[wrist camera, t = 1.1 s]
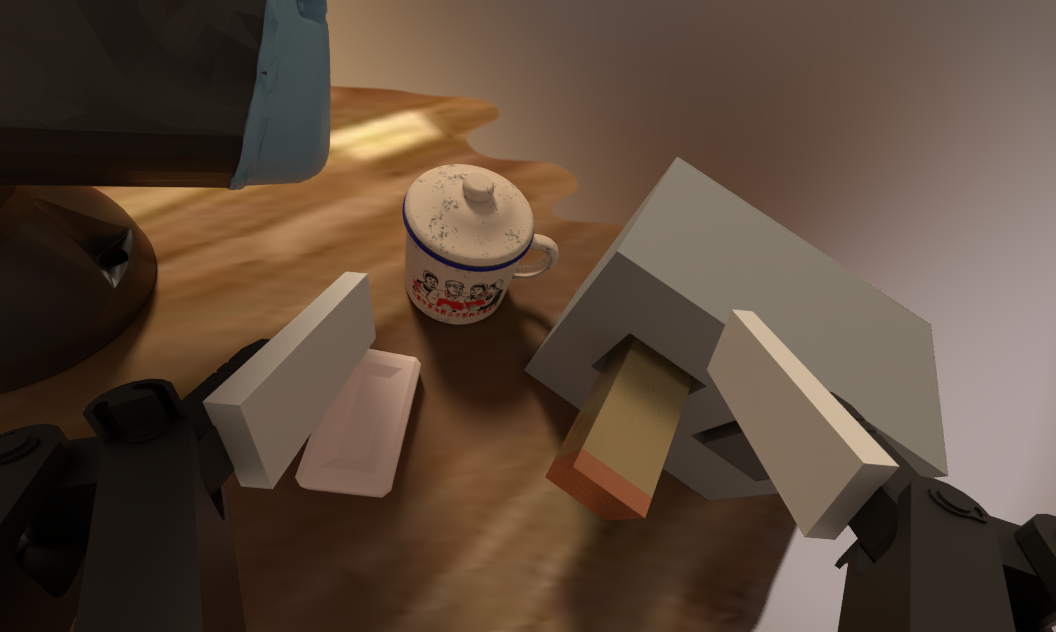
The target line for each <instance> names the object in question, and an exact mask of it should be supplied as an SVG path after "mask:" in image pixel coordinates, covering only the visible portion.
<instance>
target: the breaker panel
mask: <svg viewBox="0 0 1056 632" xmlns="http://www.w3.org/2000/svg"><path fill="white" fill-rule="evenodd" d="M732 309H733V310H744V311H753V312H754V313H755V314H756V315H757V316H758V317H759V319H760V320H761V321H762V322H763V323H764V324H765V325H766V326H767V327H768V328H769V329H770V330H771V331H772V332H773V333H774V334H775V335H776V337H777V338H778V339H779V340H780V341H781V342H782V343H783V344H784V345H785V346H786V347H787V348H788V349H789V350H790V351H791V352H792V353H793V354H794V356H795V357H796V358H797V359H798V360H799V361H800V362H801V363H802V364H803V365H804V366H805V367H806V368H807V369H808V370H809V371H810V372H811V374H812V375H813V376H814V377H815V378H816V379H817V380H818V381H819V382H820V383H821V384H822V385H823V386H824V387H825V388H826V389H827V390H828V391H829V392H833V393H835V394H836V395H838V396H839V397H840V398H842V399H843V400H845V401H846V402H848V403H849V404H851V405H852V406H853V407H854V408H855V409H856V410H857V411H858V412H859V413H860V414H861V415H862V416H863V417H864V418H865V422H869V424H870V425H871V426H872V427H873V428H874V429H875V430H876V431H877V434H880V435H881V436H882V437H883V438H884V439H885V440H886V441H887V442H888V443H889V444H890V445H891V446H892V447H893V448H894V449H895V450H896V451H897V452H898V453H899V454H900V455H901V456H902V457H903V458H904V459H905V460H906V461H907V462H908V463H909V464H910V465H911V466H912V467H913V468H914V470H915V471H916V472H917V473H918V474H919V475H920V476H921V477H922V476H923V477H928V478H934V477H943V476H948V470H947V460H946V451H945V443H944V434H943V425H942V416H941V408H940V399H939V390H938V381H937V373H936V365H935V355H934V346H933V338H932V329H931V324H930V323H928V322H927V321H925V320H924V319H922V318H920V317H919V316H918V315H916V314H915V313H913V312H911V311H910V310H909V309H907V308H905V307H904V306H902V305H901V304H899V303H898V302H896V301H895V300H893V299H892V298H890V297H889V296H887V295H886V294H884V293H883V292H881V291H880V290H878V289H876V288H875V287H874V286H872V285H871V284H869V283H868V282H866V281H865V280H863V279H861V278H860V277H858V276H857V275H856V274H854V273H853V272H851V271H849V270H848V269H846V268H845V267H843V266H842V265H840V264H839V263H837V262H836V261H834V260H833V259H831V258H830V257H828V256H827V255H825V254H824V253H822V252H821V251H819V250H818V249H816V248H815V247H813V246H812V245H810V244H809V243H807V242H805V241H804V240H803V239H801V238H799V237H798V236H797V235H795V234H793V233H792V232H790V231H789V230H788V229H786V228H784V227H783V226H781V225H780V224H778V223H777V222H775V221H774V220H772V219H771V218H769V217H768V216H766V215H765V214H763V213H762V212H760V211H759V210H757V209H756V208H754V207H753V206H751V205H750V204H748V203H747V202H745V201H743V200H742V199H741V198H739V197H738V196H736V195H735V194H733V193H731V192H730V191H728V190H727V189H725V188H724V187H722V186H721V185H719V184H718V183H716V182H715V181H713V180H712V179H710V178H709V177H707V176H706V175H704V174H703V173H701V172H700V171H698V170H697V169H695V168H694V167H692V166H691V165H689V164H688V163H686V162H684V161H683V160H682V159H680V158H679V157H677V158H676V159H675V161H674V162H673V163H672V165H671V166H670V167H669V169H668V170H667V171H666V173H665V174H664V175H663V177H662V178H661V179H660V181H659V182H658V184H657V185H656V186H655V187H654V189H653V190H652V192H651V193H650V194H649V195H648V197H647V198H646V199H645V201H644V202H643V203H642V205H641V206H640V208H639V209H638V210H637V212H636V213H635V215H634V216H633V217H632V218H631V220H630V221H629V222H628V224H627V225H626V226H625V228H624V229H623V230H622V232H621V233H620V234H619V236H618V237H617V238H616V240H615V241H614V242H613V244H612V245H611V246H610V248H609V249H608V250H607V252H606V253H605V255H604V256H603V257H602V259H601V260H600V261H599V263H598V264H597V265H596V267H595V268H594V269H593V271H592V272H591V273H590V275H589V276H588V277H587V279H586V280H585V281H584V283H583V284H582V285H581V287H580V288H579V289H578V291H577V292H576V294H575V295H574V297H573V298H572V300H571V301H570V303H569V304H568V305H567V307H566V308H565V310H564V311H563V313H562V314H561V316H560V317H559V319H558V320H557V322H556V323H555V325H554V326H553V328H552V329H551V331H550V332H549V334H548V335H547V337H546V338H545V340H544V341H543V343H542V344H541V346H540V347H539V349H538V350H537V352H536V353H535V355H534V356H533V358H532V359H531V361H530V362H529V364H528V365H527V367H526V368H525V370H524V371H525V372H527V373H528V374H529V375H531V376H532V377H534V378H535V379H537V380H538V381H539V382H541V383H542V384H544V385H545V386H546V387H548V388H549V389H551V390H552V391H554V392H555V393H556V394H558V395H559V396H561V397H562V398H563V399H565V400H566V401H568V402H569V403H571V404H572V405H573V406H575V407H576V408H578V409H579V410H581V408H582V406H583V404H584V402H585V400H586V398H587V396H588V394H589V392H590V391H591V389H592V387H593V385H594V383H595V381H596V379H597V377H598V375H599V373H600V372H601V370H602V368H603V366H604V364H605V362H606V360H607V358H608V356H609V354H610V352H611V351H612V349H613V347H614V346H615V345H616V344H617V343H619V342H620V341H621V340H622V339H623V338H624V337H626V336H627V335H628V334H629V333H631V334H632V335H634V336H635V337H637V338H638V339H639V340H641V341H642V342H644V343H645V344H647V345H648V346H650V347H651V348H653V349H654V350H655V351H657V352H658V353H660V354H661V355H663V356H664V357H666V358H667V359H668V360H670V361H671V362H673V363H674V364H676V365H677V366H679V367H680V368H682V369H683V370H684V371H686V372H687V373H689V374H690V375H692V376H693V377H694V378H693V380H692V383H691V386H690V389H689V392H688V395H687V398H686V401H685V404H684V407H683V410H682V413H681V415H680V418H679V421H678V424H677V427H676V430H675V433H674V436H673V439H672V442H671V445H670V447H669V450H668V453H667V456H666V459H665V462H664V465H663V469H664V470H666V471H667V472H668V473H670V474H671V475H673V476H674V477H676V478H677V479H678V480H680V481H681V482H683V483H684V484H685V485H687V486H688V487H690V488H691V489H693V490H694V491H695V492H697V493H698V494H700V495H701V496H702V497H704V498H705V499H707V500H708V501H709V500H719V499H729V498H738V497H748V496H758V495H768V494H778V493H779V492H778V491H777V489H776V487H775V485H774V484H773V482H772V480H771V479H770V477H769V475H768V473H767V472H766V470H765V468H764V467H763V465H762V463H761V461H760V460H759V458H758V456H757V455H756V453H755V451H754V449H753V448H752V446H751V444H750V443H749V441H748V439H747V437H746V436H745V434H744V432H743V431H742V429H741V427H740V425H739V424H738V422H737V420H736V419H735V417H734V415H733V413H732V412H731V410H730V408H729V407H728V405H727V403H726V401H725V400H724V398H723V396H722V395H721V393H720V391H719V389H718V388H717V386H716V384H715V383H714V381H713V379H712V377H711V376H710V374H709V372H708V371H707V368H708V365H709V363H710V361H711V358H712V356H713V353H714V351H715V349H716V346H717V344H718V341H719V339H720V337H721V334H722V332H723V329H724V327H725V324H726V322H727V320H728V317H729V315H730V312H731V310H732Z"/></svg>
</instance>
